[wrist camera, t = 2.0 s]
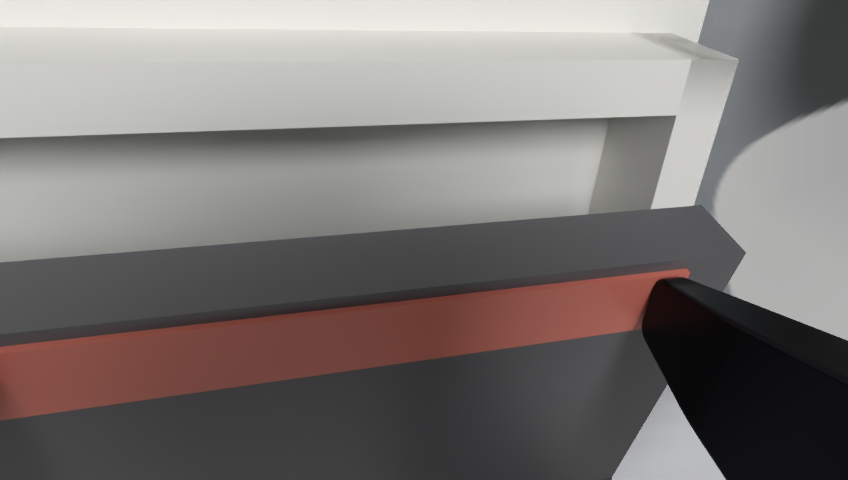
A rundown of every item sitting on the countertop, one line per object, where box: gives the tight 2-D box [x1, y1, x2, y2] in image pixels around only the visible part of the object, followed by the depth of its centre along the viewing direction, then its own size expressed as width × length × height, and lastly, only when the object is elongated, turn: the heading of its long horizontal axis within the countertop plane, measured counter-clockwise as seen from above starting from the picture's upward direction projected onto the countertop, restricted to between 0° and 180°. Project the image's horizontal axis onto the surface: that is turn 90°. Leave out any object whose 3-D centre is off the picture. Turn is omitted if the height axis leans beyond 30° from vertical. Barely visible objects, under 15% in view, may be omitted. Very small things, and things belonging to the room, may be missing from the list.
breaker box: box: [0, 0, 739, 262], centre depth 16 cm, size 20×16×5 cm
